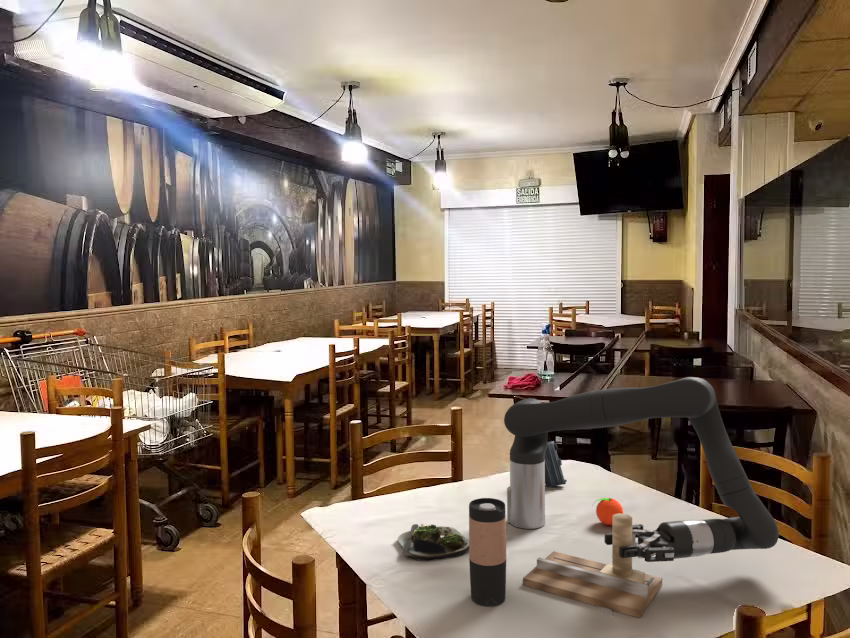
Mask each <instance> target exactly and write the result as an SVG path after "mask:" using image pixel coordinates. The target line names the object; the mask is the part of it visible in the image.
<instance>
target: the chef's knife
mask: <svg viewBox="0 0 850 638" xmlns="http://www.w3.org/2000/svg"><path fill="white" fill-rule="evenodd" d="M598 608H599V609H600V610H601V611H602V612H603V613H604V614H606V615H607V616H609V618H610V617H611V618H614V614H613V610H611V609H608V608H604V607H599V606H598Z"/></svg>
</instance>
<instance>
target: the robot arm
mask: <svg viewBox="0 0 850 638" xmlns="http://www.w3.org/2000/svg"><path fill="white" fill-rule="evenodd" d="M656 418H657V419H659V418H687V419H688V420H689V422H690V423H691V425H692V426H693V429H694V430H695V432H696V435H697V436H698V439H699V442H700V445H701V448H702V451H703V454H704V458H705V461H706V466H707V469H708V472H709V475H710V477H711V479H712V481H713V484H714V487H715V489H716V490H717V494H718V495H719V498H720V500H721V502H722V503H723V505H724V506H725V507H727V508H729V509H732V510H734V511H735V512H736V514H737V515H738V516H734V517H727V518H708V519H685V520H675V521H674V520H673V521H664V522H661V523H660V524H659V525H658V527H657V528H656V529H650V528H647V529H644V524H642V523H639V524H632V545H631V546H621V547H619V556H620V557H621V558H629V557H632V558H636V557H637V558H638V559H644V562H647V563H657V562H674V561H675V559H684V558H685V559H686V558H694V557H696V558H697V557H702V556H706V555H711V554H721V553H727V552H729V551H734V550H735V551H736V550H768V549H771V548H773V547H774V546H776V544H777V543H778V542H779V541H778V540H779V534H780V533H779V528H778V526H777V522H776V521H775V519H774V517H773V516H772V514H771V513H770V512H769V510H768V509H767V507H766V506H765V504H764V503H763V502H762V500H761V499H760V498H759V497H758V495H757V494H756V492H755V491H754V489H753V486H752V484H751V483H750V480H749V477H748V476H747V474H746V472H745V470H744V467H743V465H742V463H741V461H740V459H739V457H738V455H737V453H736V451H735V448H734V446H733V445H732V442H731V440H730V438H729V435H728V432H727V430H726V427H725V424H724V422H723V417H722V416H721V412H720V409H719V404H718V401H717V396H716V392H715V389H714V387H713V386H712V385H711V384H710V382H709V381H707V380H706V379H704V378H700V377H696V376H695V377H694V376H687V377H683V378H679V379H677V380H673V381H668V382H665V383H661V384H657V385H653V386H645V387H644V386H643V387H613V388H605V389H604V388H603V389H596V390H592V391H591V390H590V391H586V392H582V393H577V394H575V395H572V396H568V397H565V398H561V399H559V400H555V401H550V402H549V401H548V402H541V401H540V400H539V399H537V398H531V397H528V398H525V399H521V400H519V401H518V402H515V403H514V404H512V405H511V406H509V408H508V409H507V410H506V412H505V414H504V419H503V424H504V426H505V428H506V430H507V431H508V432H509V433H511V435H514V439H513V443H512V445H511V447H510V448H509V486H508V487H507V488H506V509H507V510H506V517H507V518H506V519H507V520H506V521H507V522H506V523H509V524H511V525H512V526H514V527H517V528H520V529H527V530H530V529H531V530H532V529H533V530H534V529H540V528H541V527H544V526H545V524H546V484H545V452H546V448H547V442H548V433H550V432H555V431H556V432H557V431H565V430H566V431H569V430H570V431H571V430H573V431H574V430H575V431H576V430H589V429H590V430H591V429H603V428H610V427H611V428H612V427H618V426H624V425H628V424H632V423H633V424H634V423H637V422H640V421H644V420H649V419H656ZM603 538H604V541H603V542H604V544H605V545H607V546H611V545H612V532H611V533H605V534H604V537H603ZM636 538H637V541H636Z"/></svg>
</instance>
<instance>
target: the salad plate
mask: <svg viewBox="0 0 850 638" xmlns="http://www.w3.org/2000/svg"><path fill="white" fill-rule="evenodd" d="M397 541H398V543H399V545H400V546H401V547H402V549H401V551H402V552H401V553H402V554H403V555H405V556H409V557H411V558H412V559H415V560H418V561H425V562H426V561H428V562H429V561H439V560H440V561H441V560H444V559H445V560H446V559H450V558H457V557H459V556H461V555H464V554H466V553H467V551H469V538H467V537H466V536H465V535H463V533H461V532H460V531H459V530H458V529H456V528H454V527H451V526H436V525H435V524H432V523H431V524H429V525H424V523H421V524H420V526H419V524H417V523H416V524H415V523H414V524H412V525H411V528H410V531H406V532H403V533H401V534H399V535H398V537H397Z"/></svg>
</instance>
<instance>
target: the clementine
mask: <svg viewBox="0 0 850 638" xmlns="http://www.w3.org/2000/svg"><path fill="white" fill-rule="evenodd" d="M597 501H599V502H598V503H597V505H596V508H595V512H596V517H597V519H598V520H599V521H600V523H603V524H604V525H606V526H612V516H613V515H614V514H624V510H623V506H622V504H621V503H620V502H619V501H618V500H616V499H615V498H610V497H608V498H606V497H603V498H602V497H601V498H599V499H598V498H597V500H595V501H594V502H593V504H592V506H591V507H593V505H594V504H595V503H596V502H597Z"/></svg>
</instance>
